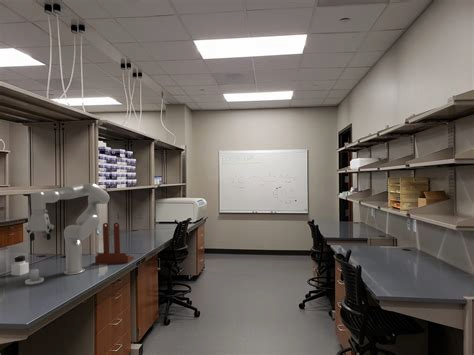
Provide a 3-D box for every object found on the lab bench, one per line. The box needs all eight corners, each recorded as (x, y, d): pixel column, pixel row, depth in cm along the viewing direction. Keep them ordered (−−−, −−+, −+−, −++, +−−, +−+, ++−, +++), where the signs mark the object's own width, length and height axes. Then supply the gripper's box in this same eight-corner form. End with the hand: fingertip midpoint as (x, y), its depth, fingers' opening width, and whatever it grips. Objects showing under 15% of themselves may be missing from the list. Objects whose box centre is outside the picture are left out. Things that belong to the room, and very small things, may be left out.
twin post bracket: (133, 258, 258) (132, 219, 258) (128, 263, 245) (126, 222, 244) (102, 259, 258) (101, 220, 258) (95, 263, 245) (94, 223, 245)
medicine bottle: (29, 272, 226) (28, 254, 226) (20, 275, 219) (19, 257, 219) (20, 272, 228) (19, 254, 228) (11, 275, 221) (10, 257, 221)
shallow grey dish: (30, 280, 209) (30, 277, 209) (47, 279, 209) (47, 276, 209) (21, 285, 199) (21, 282, 199) (38, 284, 199) (38, 281, 199)
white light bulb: (32, 278, 206) (32, 269, 206) (40, 278, 207) (40, 268, 207) (27, 281, 200) (26, 271, 200) (35, 281, 200) (35, 271, 200)
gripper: (56, 210, 208) (58, 238, 208) (28, 212, 207) (30, 239, 208) (50, 212, 200) (51, 240, 201) (20, 213, 200) (22, 242, 200)
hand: (40, 240), depth 204 cm, fingers open, 9 cm apart
